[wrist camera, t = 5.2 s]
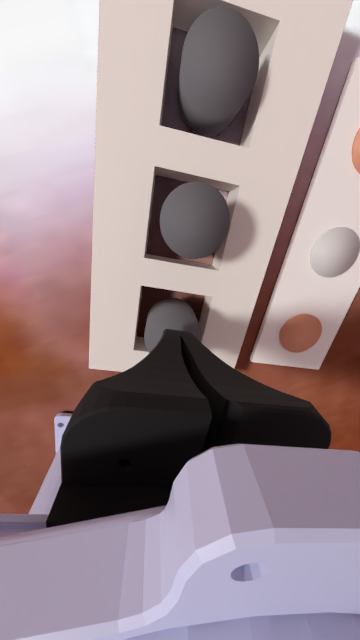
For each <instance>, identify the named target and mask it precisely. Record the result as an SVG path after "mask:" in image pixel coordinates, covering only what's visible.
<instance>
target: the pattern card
mask: <svg viewBox="0 0 360 640" xmlns="http://www.w3.org/2000/svg"><path fill="white" fill-rule="evenodd" d="M359 287H360V57H358V58H357V59H355V60H354V61H353V62H352V64H351V67H350V70H349V73H348V76H347V79H346V82H345V85H344V88H343V90H342V93H341V96H340V99H339V102H338V105H337V108H336V111H335V114H334V116H333V119H332V122H331V125H330V128H329V131H328V134H327V137H326V140H325V142H324V145H323V148H322V151H321V154H320V157H319V160H318V163H317V166H316V168H315V171H314V174H313V177H312V180H311V183H310V186H309V189H308V192H307V195H306V197H305V200H304V203H303V206H302V209H301V212H300V215H299V218H298V221H297V223H296V226H295V229H294V232H293V235H292V238H291V241H290V244H289V247H288V249H287V252H286V255H285V258H284V261H283V264H282V267H281V270H280V273H279V275H278V278H277V281H276V284H275V287H274V290H273V293H272V296H271V299H270V301H269V304H268V307H267V310H266V313H265V316H264V319H263V322H262V325H261V327H260V330H259V333H258V336H257V339H256V342H255V345H254V348H253V351H252V353H251V356H250V361H251V362H256V363H265V364H274V365H282V366H291V367H300V368H308V369H317V370H319V368H320V366H321V364H322V362H323V360H324V358H325V356H326V354H327V352H328V350H329V348H330V346H331V344H332V342H333V340H334V338H335V336H336V334H337V332H338V330H339V328H340V326H341V323H342V321H343V319H344V317H345V315H346V313H347V311H348V309H349V307H350V305H351V303H352V301H353V299H354V297H355V295H356V293H357V291H358V289H359Z"/></svg>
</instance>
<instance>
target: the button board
mask: <svg viewBox="0 0 360 640" xmlns="http://www.w3.org/2000/svg"><path fill="white" fill-rule="evenodd" d="M352 2H353V0H100V2H99V37H98V71H97V105H96V139H95V173H94V207H93V242H92V276H91V310H90V344H89V368H90V369H100V370H110V371H120V372H124V371H126V370H128V369H130V368H132V367H133V366H135V365H136V364H137V363H139V362H140V361H141V360H143V359H144V358H145V357H146V356H147V355H148V354H149V352H148V350H147V349H146V346H145V343H144V337H138V336H137V329H138V321H139V312H140V304H141V295H142V287H143V286H147V287H154V288H160V289H167V290H173V291H179V292H186V293H192V294H199V295H205V299H204V303H203V307H202V312H201V316H200V320H199V327H200V329H201V333H202V341H201V343H202V344H203V345H204V346H205V347H207V348H208V349H209V350H210V351H211V352H212V353H213V354H215V355H216V356H217V357H218V358H220V359H221V360H222V361H224V362H225V363H226V364H228V365H229V366H231V367H232V368H235V365H236V362H237V359H238V356H239V353H240V350H241V347H242V344H243V341H244V337H245V334H246V331H247V328H248V325H249V322H250V319H251V316H252V313H253V310H254V306H255V303H256V300H257V297H258V294H259V291H260V288H261V285H262V282H263V279H264V275H265V272H266V269H267V266H268V263H269V260H270V257H271V254H272V251H273V247H274V244H275V241H276V238H277V235H278V232H279V229H280V226H281V223H282V220H283V216H284V213H285V210H286V207H287V204H288V201H289V198H290V195H291V192H292V189H293V185H294V182H295V179H296V176H297V173H298V170H299V167H300V164H301V161H302V157H303V154H304V151H305V148H306V145H307V142H308V139H309V136H310V133H311V130H312V126H313V123H314V120H315V117H316V114H317V111H318V108H319V105H320V102H321V99H322V95H323V92H324V89H325V86H326V83H327V80H328V77H329V74H330V71H331V68H332V64H333V61H334V58H335V55H336V52H337V49H338V46H339V43H340V40H341V36H342V33H343V30H344V27H345V24H346V21H347V18H348V15H349V12H350V9H351V5H352ZM219 6H222V7H229V8H232V9H234V10H236V11H238V12H239V13H241V14H242V15H243V16H244V17H245V18H246V19H247V21H248V22H249V23H250V25H251V27H252V29H253V31H254V33H255V36H256V39H257V43H258V48H259V55H260V59H259V69H258V75H257V79H256V82H255V85H254V87H253V89H252V94H251V98H250V103H249V107H248V111H247V116H246V120H245V124H244V129H243V133H242V137H241V142H240V146H238V145H234V144H230V143H227V142H223V141H219V140H215V139H211V138H207V137H203V136H199V135H195V134H192V133H188V132H184V131H180V130H176V129H172V128H168V127H164V126H162V117H163V109H164V100H165V92H166V83H167V75H168V66H169V58H170V49H171V41H172V32H173V27H174V28H177V29H180V30H183V31H186V32H188V31H189V29H190V27H191V26H192V24H193V23H194V21H195V20H196V19H197V18H198V17H199V16H200V15H201V14H202V13H204V12H205V11H207V10H209V9H211V8H214V7H219ZM156 175H158V176H163V177H167V178H172V179H176V180H181V181H185V182H203V183H207V184H209V185H211V186H213V187H214V188H216V189H221V190H225V191H229V194H228V198H227V206H228V209H229V214H230V224H229V230H228V233H227V236H226V238H225V240H224V241H223V243H222V244H221V246H220V247H219V248H218V249H217V250H216V251H215V255H214V259H213V264H212V265H207V264H201V263H196V262H190V261H184V260H179V259H173V258H167V257H161V256H156V255H150V254H146V253H147V244H148V236H149V227H150V219H151V210H152V202H153V193H154V185H155V176H156Z"/></svg>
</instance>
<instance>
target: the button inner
mask: <svg viewBox="0 0 360 640" xmlns="http://www.w3.org/2000/svg"><path fill="white" fill-rule="evenodd" d="M165 329H172V330H179V331H187V332H190V333H192V334H193V335H194V336H195V337H196V338H197V339H198V340H199V341H200V342H201V341H202V333H201V329H200V327H199V324H198V321H197V319H196V316H195V313H194V311H193V309H192V308H191V306H190V305H189V304H188V303H186V302H185V301H183V300H180V299H177V298H166V299H163V300H160V301H159V302H157V303H156V304H154V305H153V306H152V308H151V309H150V311H149V313H148V316H147V322H146V328H145V334H144V343H145V346H146V349H147V350H148V352H149V353H150V352H151V351H152V350H153V349H154V347H155V346H156V345H157V344H158V342H159V341H160V339H161V337H162V335H163V331H164V330H165Z"/></svg>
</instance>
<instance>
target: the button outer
mask: <svg viewBox="0 0 360 640" xmlns="http://www.w3.org/2000/svg"><path fill="white" fill-rule="evenodd" d="M258 69H259V48H258V43H257V39H256V36H255V33H254V31H253V29H252V27H251V25H250V23H249V22H248V21H247V19H246V18H245V17H244V16H243V15H242V14H241V13H239V12H238V11H236V10H234V9H232V8H229V7H222V6H219V7H214V8H211V9H209V10H207V11H205V12H204V13H202V14H201V15H200V16H199V17H198V18H197V19H196V20H195V21H194V23H193V24H192V26H191V27H190V29H189V31H188V33H187V36H186V38H185V41H184V45H183V50H182V57H181V66H180V74H179V83H178V93H177V100H178V107H179V111H180V114H181V116H182V119H183V120H184V122H185V124H186V125H187V126H188V127H189V128H190V129H191V130H192V131H193V132H194V133H196V134H198V135H201V136H206V137H210V136H215V135H218V134H220V133H221V132H223V131H224V130H225V129H226V128H227V127H228V126H229V125H230V124H231V122H232V121H233V119H234V118H235V116H236V115H237V113H238V112H239V110H240V109H241V107H242V106H243V104H244V103H245V101H246V100H247V98H248V97H249V95H250V93H251V91H252V89H253V87H254V85H255V82H256V79H257V75H258Z"/></svg>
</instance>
